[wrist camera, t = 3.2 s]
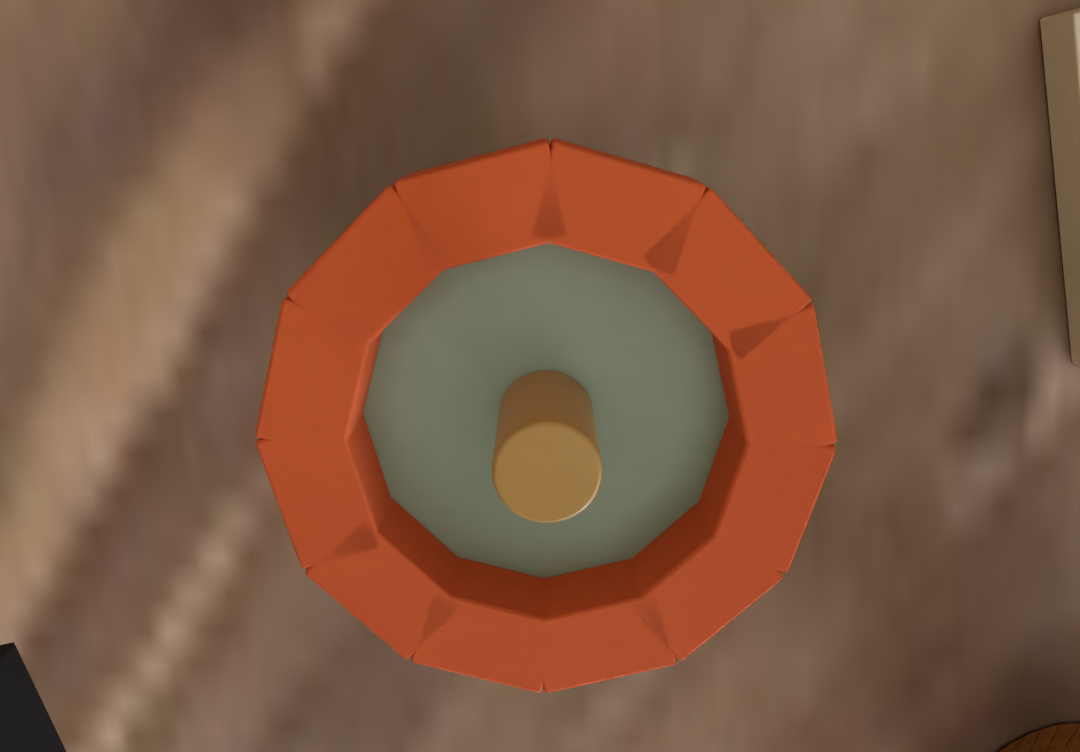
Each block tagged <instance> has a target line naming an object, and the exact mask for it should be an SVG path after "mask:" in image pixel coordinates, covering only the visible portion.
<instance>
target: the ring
mask: <svg viewBox="0 0 1080 752" xmlns="http://www.w3.org/2000/svg"><path fill="white" fill-rule="evenodd" d="M547 243H551V244H554V245H558V246H562V247H565V248H569V249H572V250H576V251H579V252H583V253H587V254H590V255H594V256H597V257H601V258H605V259H608V260H612V261H615V262H619V263H622V264H626V265H630V266H633V267H637V268H640V269H644V270H647V271H651V272H654V273H655V274H656V275H657V276H658V277H659V278H660V279H661V280H662V281H663V282H664V283H665V284H666V286H667V287H668V288H669V289H670V290H671V291H672V292H673V293H674V294H675V295H676V296H677V297H678V298H679V299H680V300H681V301H682V302H683V303H684V304H685V305H686V307H687V308H688V309H689V310H690V311H691V312H692V313H693V314H694V315H695V316H696V317H697V318H698V319H699V320H700V321H701V322H702V323H703V324H704V325H705V326H706V328H707V329H708V330H709V331H710V332H711V333H712V337H713V341H714V346H715V351H716V356H717V361H718V365H719V370H720V375H721V380H722V384H723V389H724V394H725V399H726V404H727V408H728V413H729V419H728V422H727V425H726V428H725V430H724V433H723V436H722V439H721V442H720V444H719V447H718V450H717V453H716V456H715V458H714V461H713V464H712V467H711V470H710V472H709V475H708V478H707V481H706V483H705V486H704V489H703V492H702V495H701V497H700V500H699V502H697V503H696V504H695V505H694V506H693V507H692V508H690V509H689V510H688V511H687V512H686V513H685V514H683V515H682V516H681V517H680V518H679V519H678V520H676V521H675V522H674V523H673V524H672V525H671V526H669V527H668V528H667V529H666V530H665V531H664V532H662V533H661V534H660V535H659V536H658V537H657V538H655V539H654V540H653V541H652V542H651V543H650V544H648V545H647V546H646V547H645V548H644V549H643V550H641V551H640V552H639V553H638V554H637V555H636V556H634V557H633V558H631V559H626V560H622V561H618V562H613V563H609V564H605V565H600V566H596V567H592V568H587V569H583V570H578V571H574V572H570V573H565V574H561V575H557V576H552V577H548V578H540V577H536V576H532V575H528V574H524V573H520V572H516V571H512V570H508V569H504V568H500V567H496V566H492V565H488V564H484V563H480V562H476V561H472V560H468V559H464V558H460V557H457V556H456V555H455V554H454V553H453V552H452V551H450V550H449V549H448V548H447V547H446V546H445V545H444V544H443V543H442V542H440V541H439V540H438V539H437V538H436V537H435V536H434V535H433V534H432V533H430V532H429V531H428V530H427V529H426V528H425V527H424V526H423V525H422V524H420V523H419V522H418V521H417V520H416V519H415V518H414V517H413V516H412V515H410V514H409V513H408V512H407V511H406V510H405V509H404V508H403V507H402V506H400V505H399V504H398V503H397V502H396V501H395V500H394V499H393V498H391V496H390V493H389V490H388V487H387V484H386V481H385V478H384V475H383V472H382V469H381V466H380V463H379V460H378V457H377V454H376V451H375V448H374V445H373V442H372V439H371V436H370V433H369V430H368V426H367V423H366V420H365V417H364V414H363V411H364V407H365V403H366V398H367V394H368V390H369V386H370V382H371V377H372V373H373V369H374V365H375V360H376V356H377V352H378V348H379V343H380V339H381V335H382V331H383V330H384V329H385V328H386V327H387V326H388V325H389V324H390V323H391V322H392V321H393V320H394V319H395V318H396V317H397V316H398V315H399V314H400V313H401V312H402V311H403V310H404V309H405V308H406V307H407V306H408V305H409V304H410V303H411V302H412V301H413V300H414V299H415V298H416V297H417V296H418V295H419V294H420V293H421V292H422V291H423V290H424V289H425V288H426V287H427V286H428V285H429V284H430V283H431V282H432V281H433V280H434V279H435V278H436V277H437V276H438V275H439V274H440V273H441V272H442V271H443V270H446V269H450V268H454V267H457V266H461V265H465V264H469V263H473V262H477V261H481V260H485V259H489V258H493V257H496V256H500V255H504V254H508V253H512V252H516V251H520V250H524V249H528V248H532V247H535V246H539V245H543V244H547ZM287 295H288V296H287V297H286V298H285V299H284V300H283V301H282V304H281V309H280V314H279V318H278V323H277V328H276V333H275V338H274V343H273V348H272V353H271V358H270V363H269V368H268V373H267V378H266V383H265V388H264V393H263V398H262V403H261V408H260V412H259V417H258V422H257V427H256V436H257V437H258V438H259V439H258V440H257V441H256V445H257V448H258V451H259V454H260V456H261V459H262V462H263V464H264V467H265V470H266V473H267V475H268V478H269V481H270V483H271V486H272V489H273V492H274V494H275V497H276V500H277V502H278V505H279V508H280V511H281V513H282V516H283V519H284V521H285V524H286V527H287V530H288V532H289V535H290V538H291V540H292V543H293V546H294V549H295V551H296V554H297V557H298V559H299V562H300V565H301V567H302V568H307V569H306V572H305V573H306V575H307V576H308V577H310V578H311V579H312V580H313V581H314V582H315V583H317V584H318V585H319V586H320V587H321V588H322V589H324V590H325V591H326V592H327V593H328V594H330V595H331V596H332V597H333V598H334V599H335V600H337V601H338V602H339V603H340V604H341V605H342V606H344V607H345V608H346V609H347V610H348V611H349V612H351V613H352V614H353V615H354V616H355V617H356V618H358V619H359V620H360V621H361V622H362V623H364V624H365V625H366V626H367V627H368V628H369V629H371V630H372V631H373V632H374V633H375V634H376V635H378V636H379V637H380V638H381V639H382V640H383V641H385V642H386V643H387V644H388V645H389V646H390V647H392V648H393V649H394V650H395V651H396V652H398V653H399V654H400V655H401V656H402V657H403V658H405V659H408V658H409V657H410V656H411V655H412V656H411V660H412V662H414V663H418V664H422V665H427V666H431V667H435V668H439V669H443V670H447V671H451V672H456V673H460V674H464V675H468V676H472V677H476V678H481V679H485V680H489V681H493V682H497V683H501V684H505V685H510V686H514V687H518V688H522V689H526V690H530V691H534V692H541V690H542V688H543V687H544V690H545V691H546V692H547V693H549V692H554V691H558V690H563V689H567V688H572V687H576V686H581V685H585V684H590V683H595V682H599V681H604V680H608V679H613V678H617V677H622V676H626V675H631V674H635V673H640V672H645V671H649V670H654V669H658V668H663V667H667V666H672V665H675V664H676V658H677V659H679V660H684V659H685V658H686V657H687V656H689V655H690V654H691V653H692V652H693V651H695V650H696V649H697V648H698V647H700V646H701V645H702V644H703V643H705V642H706V641H707V640H708V639H709V638H711V637H712V636H713V635H714V634H716V633H717V632H718V631H719V630H720V629H722V628H723V627H724V626H725V625H727V624H728V623H729V622H730V621H732V620H733V619H734V618H735V617H736V616H738V615H739V614H740V613H741V612H743V611H744V610H745V609H746V608H747V607H749V606H750V605H751V604H752V603H754V602H755V601H756V600H757V599H759V598H760V597H761V596H762V595H763V594H765V593H766V592H767V591H768V590H770V589H771V588H772V587H773V586H774V585H776V584H777V583H778V582H779V581H781V580H782V578H783V575H782V572H787V571H788V570H789V568H790V565H791V563H792V560H793V558H794V555H795V553H796V550H797V548H798V545H799V543H800V540H801V538H802V535H803V533H804V530H805V528H806V525H807V523H808V520H809V518H810V515H811V512H812V510H813V507H814V505H815V502H816V500H817V497H818V495H819V492H820V490H821V487H822V485H823V482H824V480H825V477H826V475H827V472H828V470H829V467H830V465H831V462H832V460H833V457H834V455H835V452H836V447H835V446H834V445H833V443H835V442H836V441H837V434H836V428H835V422H834V417H833V411H832V405H831V399H830V394H829V388H828V382H827V376H826V371H825V365H824V359H823V353H822V348H821V342H820V336H819V330H818V325H817V319H816V313H815V308H814V307H813V305H812V304H810V303H809V302H810V301H811V297H810V296H809V295H808V294H807V293H806V292H805V291H804V290H803V288H802V287H801V286H800V285H799V284H798V283H797V282H796V281H795V280H794V279H793V277H792V276H791V275H790V274H789V273H788V272H787V271H786V270H785V269H784V268H783V266H782V265H781V264H780V263H779V262H778V261H777V260H776V259H775V258H774V257H773V255H772V254H771V253H770V252H769V251H768V250H767V249H766V248H765V247H764V246H763V245H762V243H761V242H760V241H759V240H758V239H757V238H756V237H755V236H754V235H753V234H752V232H751V231H750V230H749V229H748V228H747V227H746V226H745V225H744V224H743V223H742V221H741V220H740V219H739V218H738V217H737V216H736V215H735V214H734V213H733V212H732V210H731V209H730V208H729V207H728V206H727V205H726V204H725V203H724V202H723V201H722V199H721V198H720V197H719V196H718V195H717V194H716V193H715V192H714V191H713V190H712V189H710V188H708V187H706V186H705V185H704V184H702V183H700V182H698V181H696V180H694V179H692V178H690V177H687V176H684V175H680V174H677V173H673V172H670V171H666V170H663V169H659V168H656V167H652V166H649V165H645V164H642V163H639V162H635V161H632V160H628V159H625V158H621V157H618V156H614V155H611V154H607V153H604V152H600V151H597V150H594V149H590V148H587V147H583V146H580V145H576V144H573V143H569V142H566V141H562V140H559V139H552V140H551V143H550V145H549V141H548V140H547V139H540V140H536V141H532V142H529V143H525V144H521V145H517V146H514V147H510V148H506V149H502V150H498V151H495V152H491V153H487V154H483V155H480V156H476V157H472V158H468V159H464V160H461V161H457V162H453V163H449V164H446V165H442V166H438V167H434V168H430V169H427V170H423V171H419V172H415V173H412V174H409V175H407V176H405V177H403V178H401V179H399V180H398V181H396V182H395V183H394V184H392V185H390V186H388V187H386V188H385V189H384V190H383V191H382V192H381V193H380V195H379V196H378V197H377V198H376V199H375V200H374V201H373V202H372V203H371V204H370V205H369V206H368V207H367V208H366V209H365V210H364V211H363V212H362V213H361V214H360V215H359V216H358V218H357V219H356V220H355V221H354V222H353V223H352V224H351V225H350V226H349V227H348V228H347V229H346V230H345V231H344V232H343V233H342V234H341V235H340V236H339V237H338V238H337V239H336V241H335V242H334V243H333V244H332V245H331V246H330V247H329V248H328V249H327V250H326V251H325V252H324V253H323V254H322V255H321V256H320V257H319V258H318V259H317V260H316V261H315V262H314V264H313V265H312V266H311V267H310V268H309V269H308V270H307V271H306V272H305V273H304V274H303V275H302V276H301V277H300V278H299V279H298V280H297V281H296V282H295V283H294V284H293V285H292V287H291V288H290V289H289V290H288V292H287Z"/></svg>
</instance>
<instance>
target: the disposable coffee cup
mask: <svg viewBox="0 0 1080 752" xmlns="http://www.w3.org/2000/svg"><path fill="white" fill-rule="evenodd" d="M1000 752H1080V723H1068V724H1062V725H1055V726H1051V727H1048V728H1045V729H1042V730H1039V731H1036V732H1033V733H1030V734H1028V735H1026V736H1024V737H1022V738H1020V739H1019V740H1017V741H1015V742H1013V743H1011V744H1010V745H1008V746H1007V747H1006V748H1004V749H1003V750H1001V751H1000Z"/></svg>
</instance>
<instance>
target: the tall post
mask: <svg viewBox="0 0 1080 752" xmlns="http://www.w3.org/2000/svg"><path fill="white" fill-rule="evenodd" d="M1040 26H1041V37H1042V47H1043V58H1044V69H1045V79H1046V90H1047V101H1048V111H1049V122H1050V132H1051V143H1052V154H1053V164H1054V175H1055V186H1056V196H1057V207H1058V218H1059V228H1060V239H1061V250H1062V260H1063V271H1064V282H1065V292H1066V303H1067V314H1068V324H1069V335H1070V346H1071V356H1072V363H1073V365H1075V366H1077V367H1079V368H1080V8H1078V9H1074V10H1071V11H1067V12H1063V13H1059V14H1055V15H1052V16H1048V17H1044V18H1042V19H1041V20H1040Z"/></svg>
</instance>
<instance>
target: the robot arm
mask: <svg viewBox="0 0 1080 752" xmlns="http://www.w3.org/2000/svg"><path fill="white" fill-rule="evenodd" d="M0 752H66V750H65V748H64V746H63V744H62V742H61V740H60V738H59V736H58V733H57V731H56V729H55V727H54V725H53V723H52V721H51V719H50V717H49V715H48V713H47V711H46V708H45V706H44V704H43V702H42V700H41V698H40V696H39V694H38V692H37V690H36V688H35V686H34V683H33V681H32V679H31V677H30V675H29V673H28V671H27V669H26V667H25V665H24V663H23V661H22V658H21V656H20V654H19V652H18V650H17V648H16V646H15V644H14V642H13V643H9V644H4V645H0Z"/></svg>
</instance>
